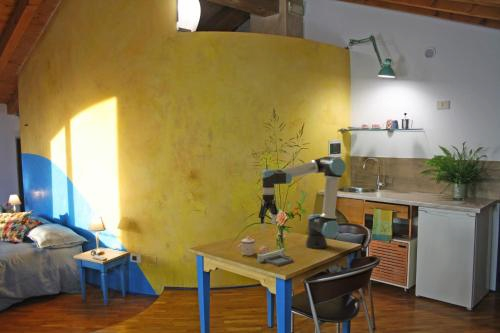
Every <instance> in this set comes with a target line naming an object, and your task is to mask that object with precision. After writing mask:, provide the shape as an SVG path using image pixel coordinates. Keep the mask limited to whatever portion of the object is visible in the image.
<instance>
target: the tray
mask: <svg viewBox="0 0 500 333" xmlns="http://www.w3.org/2000/svg"><path fill="white" fill-rule="evenodd" d="M263 262H264V263H266V264H269V265H273V266H276V267H280V266H283V265H286V264H290V263H293V262H294V258H291V257H288V256H286V255H285V256H281V255H278V256H274V257H271V258H267V259H264V261H263Z"/></svg>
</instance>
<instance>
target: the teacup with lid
mask: <svg viewBox="0 0 500 333" xmlns="http://www.w3.org/2000/svg"><path fill="white" fill-rule="evenodd" d="M255 240H256V239H253V238H251V237H250V236H249V235H247V236H246V238H244V239H241V243H240V244H238V246H237V249H238V251H239V252H241V254H242V255H243V256H253V255H255V249H256V246H255V245H256V244H255V242H256V241H255ZM240 247H241V249H240Z"/></svg>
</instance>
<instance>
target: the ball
mask: <svg viewBox="0 0 500 333" xmlns="http://www.w3.org/2000/svg"><path fill="white" fill-rule="evenodd" d="M258 251H259V254H260V255H263V254H267V253H270V250H269V248H268V246H266V245H263V246H261V247H259V250H258Z"/></svg>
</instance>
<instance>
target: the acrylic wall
mask: <svg viewBox="0 0 500 333" xmlns="http://www.w3.org/2000/svg"><path fill="white" fill-rule="evenodd" d="M285 249H286V248H282V247H281V248H280V249H279V250H275V251H271V252H269V253H267V254H263V255H261V254H260V253H259V254H257V256H256V258H257V263H263V262H264V259H267V258H271V257H274V256H278V255H281V256H285V257H286V255H285V254H286V252H285V251H286V250H285Z"/></svg>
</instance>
